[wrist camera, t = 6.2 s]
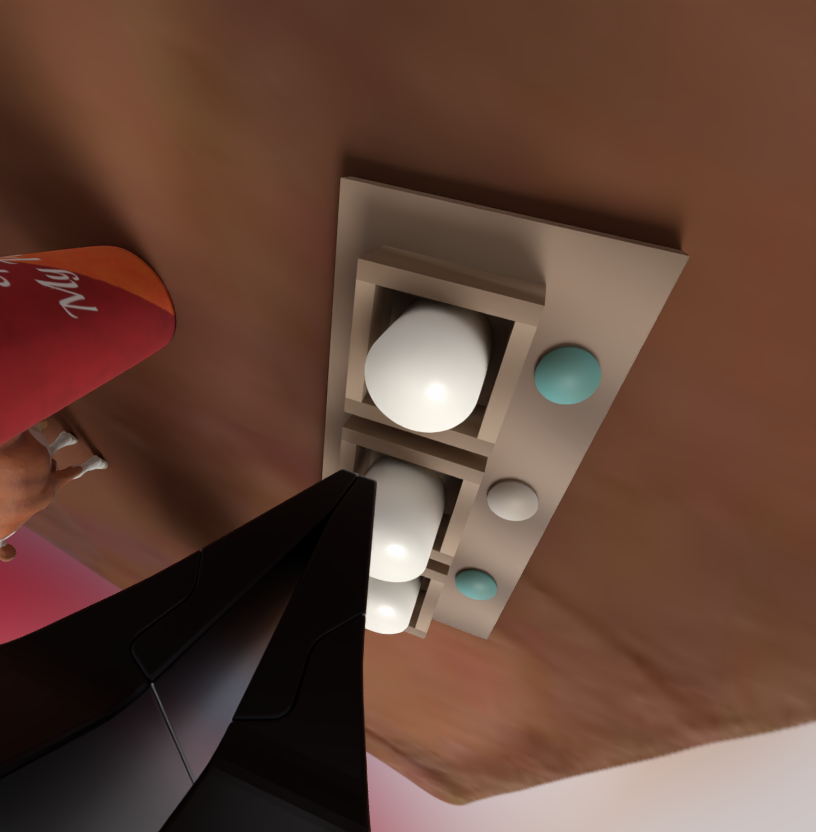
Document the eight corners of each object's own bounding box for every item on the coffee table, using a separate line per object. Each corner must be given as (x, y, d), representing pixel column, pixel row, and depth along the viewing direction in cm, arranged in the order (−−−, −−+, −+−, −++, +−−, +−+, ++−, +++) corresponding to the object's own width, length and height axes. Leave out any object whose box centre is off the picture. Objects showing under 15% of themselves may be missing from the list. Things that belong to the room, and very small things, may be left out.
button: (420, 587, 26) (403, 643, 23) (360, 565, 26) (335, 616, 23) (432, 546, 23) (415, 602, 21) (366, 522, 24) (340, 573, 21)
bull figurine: (67, 475, 33) (-53, 554, 27) (34, 330, 26) (-147, 392, 19) (115, 499, 33) (5, 585, 27) (96, 360, 25) (-66, 433, 19)
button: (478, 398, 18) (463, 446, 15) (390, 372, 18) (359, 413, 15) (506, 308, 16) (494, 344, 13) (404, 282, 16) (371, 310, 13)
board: (488, 625, 28) (481, 679, 25) (322, 562, 29) (297, 606, 27) (681, 250, 14) (714, 274, 11) (351, 176, 16) (306, 181, 13)
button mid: (437, 531, 20) (417, 594, 18) (361, 505, 21) (330, 561, 18) (455, 471, 18) (436, 532, 15) (370, 444, 19) (336, 497, 16)
